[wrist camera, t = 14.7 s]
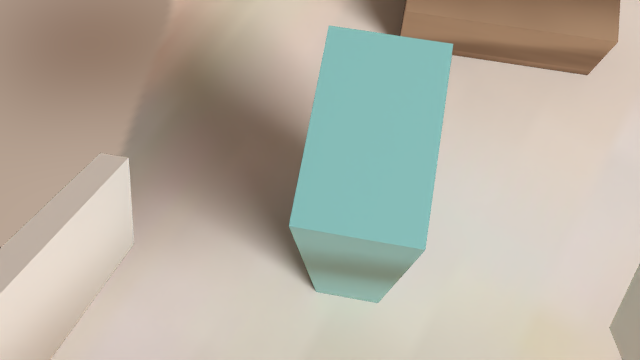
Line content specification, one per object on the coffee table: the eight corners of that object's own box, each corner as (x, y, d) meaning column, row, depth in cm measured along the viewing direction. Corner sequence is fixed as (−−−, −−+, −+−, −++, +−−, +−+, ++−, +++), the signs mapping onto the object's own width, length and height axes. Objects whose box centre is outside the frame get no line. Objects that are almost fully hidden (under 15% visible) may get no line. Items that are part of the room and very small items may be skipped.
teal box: (377, 302, 28) (425, 249, 13) (316, 291, 28) (288, 226, 13) (393, 202, 29) (453, 44, 14) (334, 192, 30) (329, 25, 14)
